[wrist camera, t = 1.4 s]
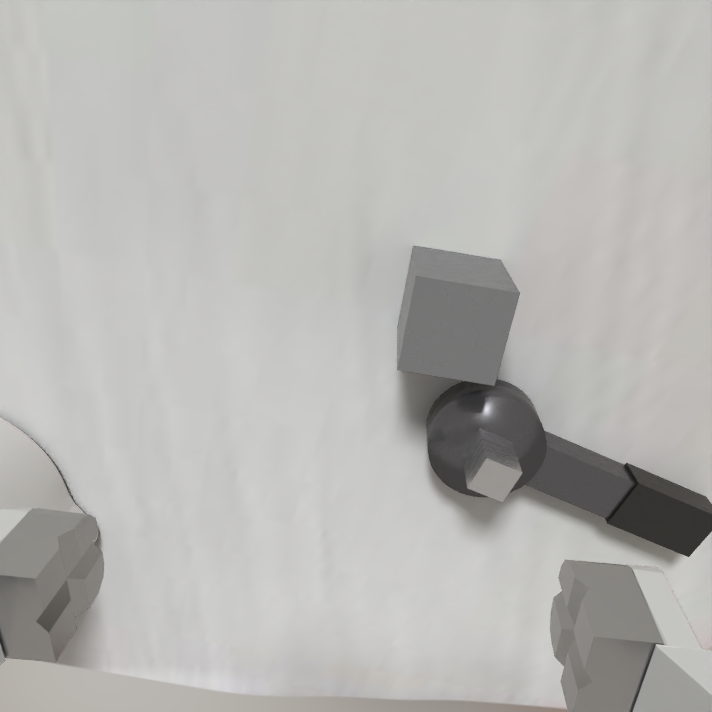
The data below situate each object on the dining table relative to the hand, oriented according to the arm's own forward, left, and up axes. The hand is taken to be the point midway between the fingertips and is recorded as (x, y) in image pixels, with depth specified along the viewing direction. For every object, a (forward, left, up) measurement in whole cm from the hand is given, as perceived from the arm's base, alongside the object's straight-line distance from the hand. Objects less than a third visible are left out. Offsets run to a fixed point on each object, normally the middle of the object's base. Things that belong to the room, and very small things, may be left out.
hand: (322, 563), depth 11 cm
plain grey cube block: (-1, -5, -26) cm, 26 cm away
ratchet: (-8, -17, -26) cm, 32 cm away
